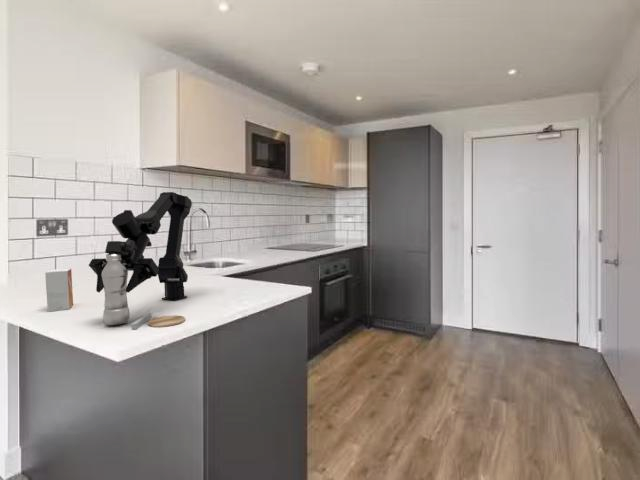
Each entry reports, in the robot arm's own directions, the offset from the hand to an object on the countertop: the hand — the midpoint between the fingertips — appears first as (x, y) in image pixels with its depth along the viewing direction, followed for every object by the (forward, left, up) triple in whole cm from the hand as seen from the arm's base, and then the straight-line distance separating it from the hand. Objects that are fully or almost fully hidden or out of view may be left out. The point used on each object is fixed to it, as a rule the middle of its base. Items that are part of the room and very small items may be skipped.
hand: (112, 291), depth 104 cm
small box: (-37, +8, -10) cm, 40 cm away
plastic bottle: (0, +1, -10) cm, 10 cm away
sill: (+5, +5, -10) cm, 12 cm away
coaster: (+11, +8, -10) cm, 17 cm away
